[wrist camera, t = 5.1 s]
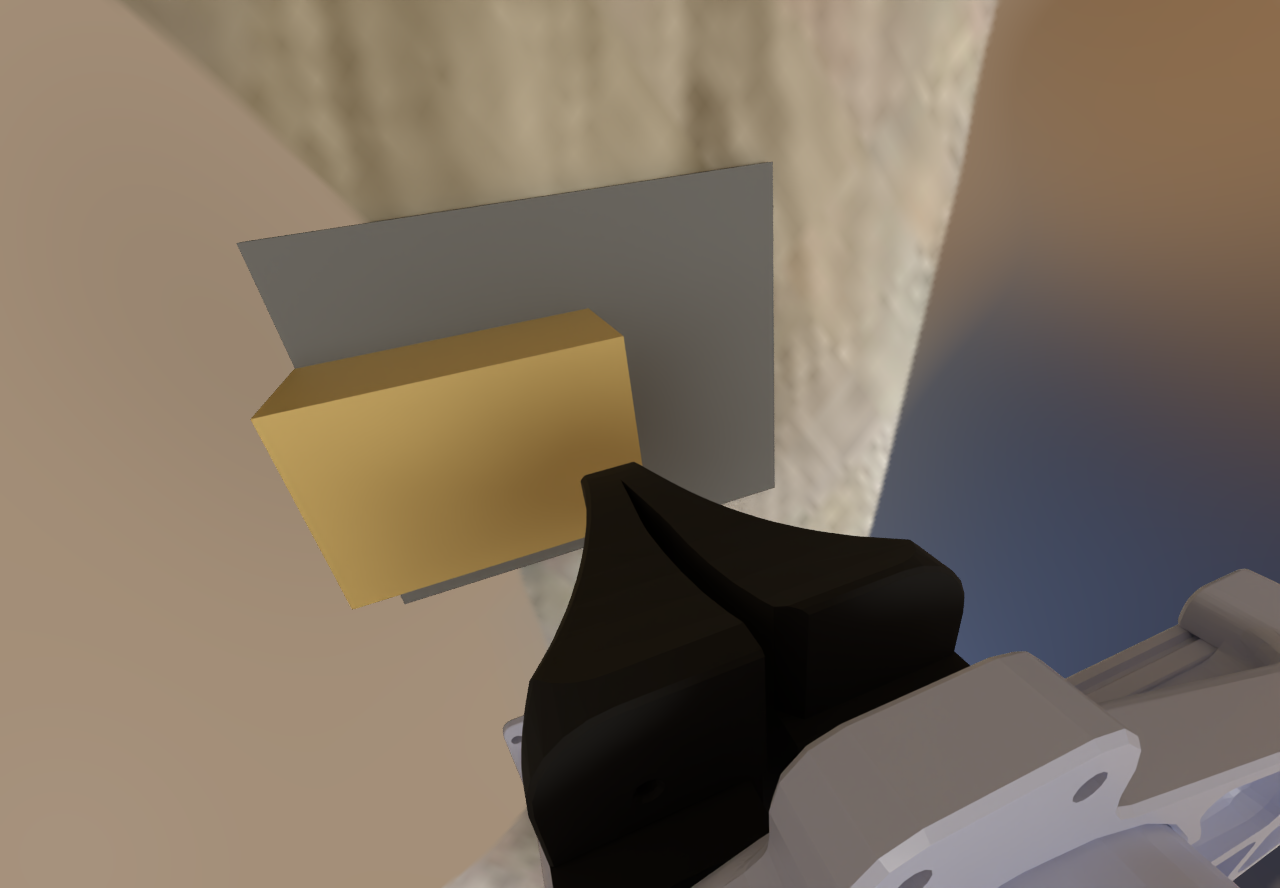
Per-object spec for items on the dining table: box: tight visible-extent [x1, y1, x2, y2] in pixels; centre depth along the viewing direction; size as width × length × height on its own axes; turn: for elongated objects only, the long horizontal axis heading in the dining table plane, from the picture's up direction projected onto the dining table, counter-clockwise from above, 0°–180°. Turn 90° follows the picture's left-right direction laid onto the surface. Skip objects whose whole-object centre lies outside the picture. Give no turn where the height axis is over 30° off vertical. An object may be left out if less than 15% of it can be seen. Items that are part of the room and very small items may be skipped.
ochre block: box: [251, 308, 642, 609], centre depth 16 cm, size 6×4×9 cm
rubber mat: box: [237, 162, 775, 604], centre depth 19 cm, size 13×16×1 cm
